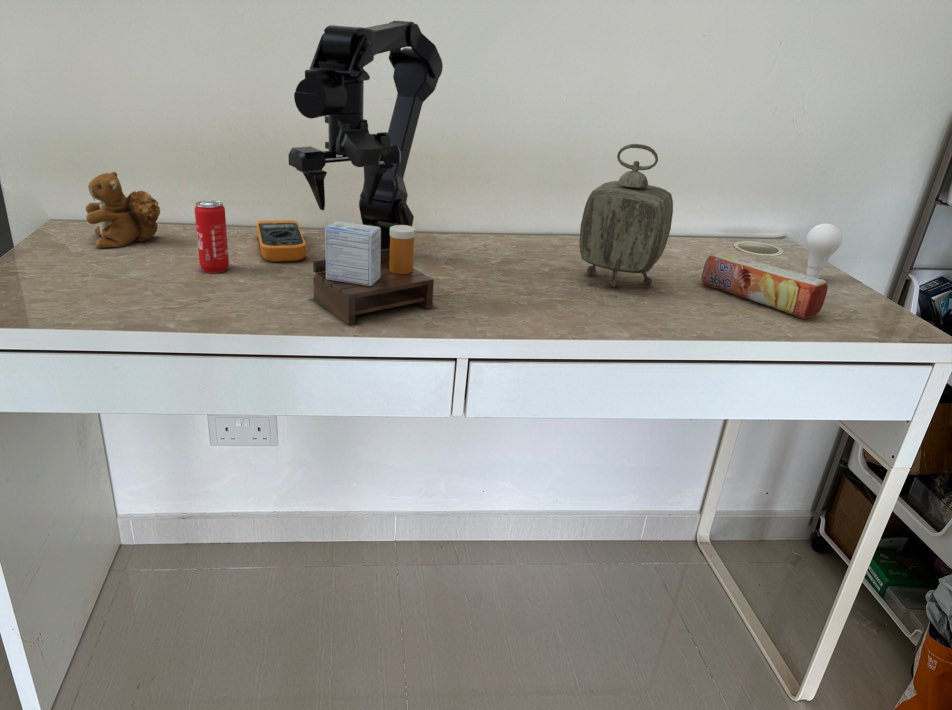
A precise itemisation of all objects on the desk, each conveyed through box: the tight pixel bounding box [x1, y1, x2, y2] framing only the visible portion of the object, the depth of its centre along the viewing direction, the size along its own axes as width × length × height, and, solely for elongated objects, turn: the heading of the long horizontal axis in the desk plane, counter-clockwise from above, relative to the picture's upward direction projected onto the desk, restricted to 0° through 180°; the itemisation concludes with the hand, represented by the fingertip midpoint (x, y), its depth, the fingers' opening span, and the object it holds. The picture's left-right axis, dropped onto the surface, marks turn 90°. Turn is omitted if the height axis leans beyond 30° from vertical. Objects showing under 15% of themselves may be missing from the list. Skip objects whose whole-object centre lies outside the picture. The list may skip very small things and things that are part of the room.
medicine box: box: [324, 220, 381, 286], centre depth 122 cm, size 8×4×9 cm, turn 71°
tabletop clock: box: [579, 143, 674, 289], centre depth 137 cm, size 14×9×25 cm, turn 62°
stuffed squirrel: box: [85, 171, 161, 249], centre depth 150 cm, size 10×14×13 cm
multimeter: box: [255, 219, 307, 263], centre depth 152 cm, size 9×18×3 cm, turn 13°
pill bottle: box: [389, 225, 416, 274], centre depth 128 cm, size 4×4×7 cm
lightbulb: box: [805, 222, 843, 279], centre depth 148 cm, size 6×6×11 cm
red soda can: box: [194, 199, 230, 274], centre depth 138 cm, size 5×5×12 cm
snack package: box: [701, 251, 829, 320], centre depth 137 cm, size 21×7×7 cm, turn 36°
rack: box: [312, 248, 435, 326], centre depth 127 cm, size 16×12×7 cm
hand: (345, 207), depth 133 cm, fingers open, 9 cm apart
